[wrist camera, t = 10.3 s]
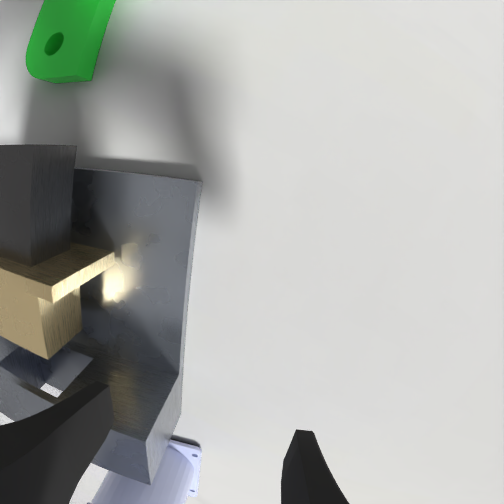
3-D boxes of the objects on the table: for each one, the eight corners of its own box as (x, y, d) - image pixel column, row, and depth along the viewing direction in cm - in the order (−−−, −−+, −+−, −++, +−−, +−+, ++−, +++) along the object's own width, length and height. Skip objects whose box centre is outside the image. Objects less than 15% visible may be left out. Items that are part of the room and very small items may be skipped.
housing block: (180, 413, 22) (150, 485, 15) (14, 348, 23) (-33, 386, 16) (202, 181, 17) (147, 191, 10) (-2, 163, 18) (-72, 171, 11)
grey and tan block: (114, 330, 19) (65, 381, 13) (21, 297, 19) (-31, 329, 13) (123, 148, 16) (54, 144, 10) (20, 145, 16) (-45, 147, 10)
